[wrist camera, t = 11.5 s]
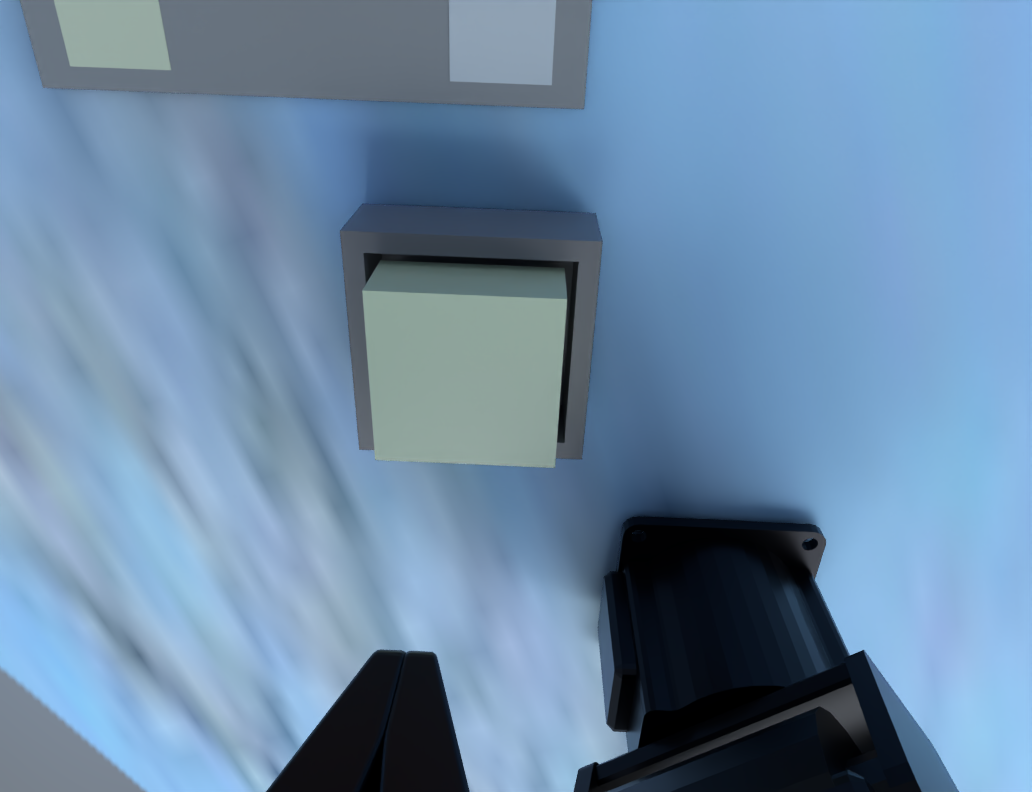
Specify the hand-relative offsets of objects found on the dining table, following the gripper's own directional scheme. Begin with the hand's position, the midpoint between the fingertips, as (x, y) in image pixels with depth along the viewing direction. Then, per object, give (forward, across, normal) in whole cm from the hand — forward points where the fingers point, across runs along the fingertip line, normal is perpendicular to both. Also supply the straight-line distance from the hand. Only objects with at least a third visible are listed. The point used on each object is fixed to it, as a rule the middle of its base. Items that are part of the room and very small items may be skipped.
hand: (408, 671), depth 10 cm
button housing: (+12, 0, 0) cm, 12 cm away
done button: (+10, 0, 0) cm, 10 cm away
